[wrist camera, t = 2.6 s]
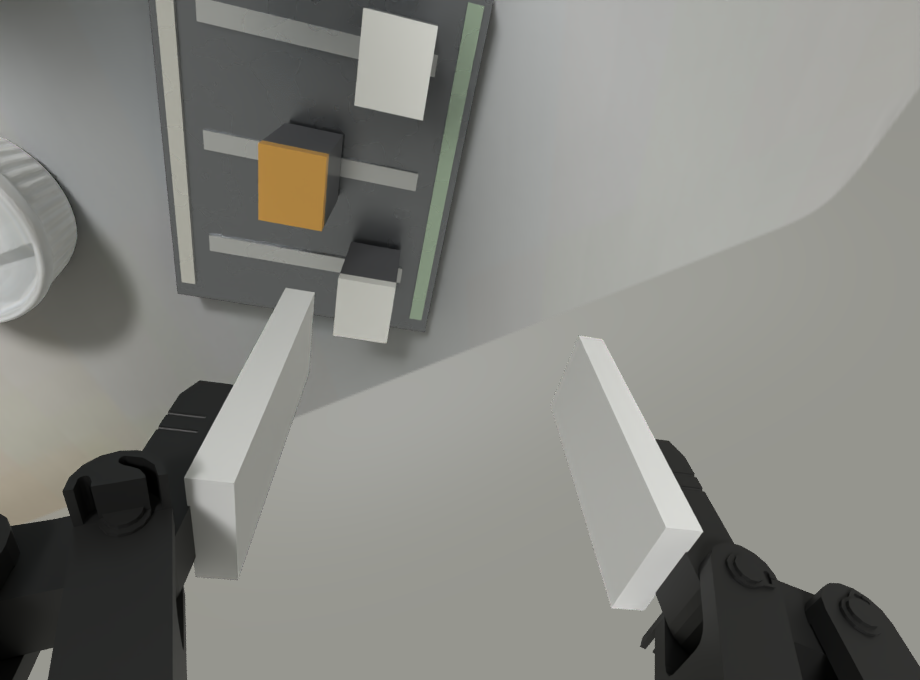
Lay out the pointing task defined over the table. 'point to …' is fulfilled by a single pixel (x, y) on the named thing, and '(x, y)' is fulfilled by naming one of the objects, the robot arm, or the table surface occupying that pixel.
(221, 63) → the panel
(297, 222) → the block
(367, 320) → the breaker far
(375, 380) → the table surface
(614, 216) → the table surface
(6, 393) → the table surface
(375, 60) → the block
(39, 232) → the ramekin
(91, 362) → the table surface
